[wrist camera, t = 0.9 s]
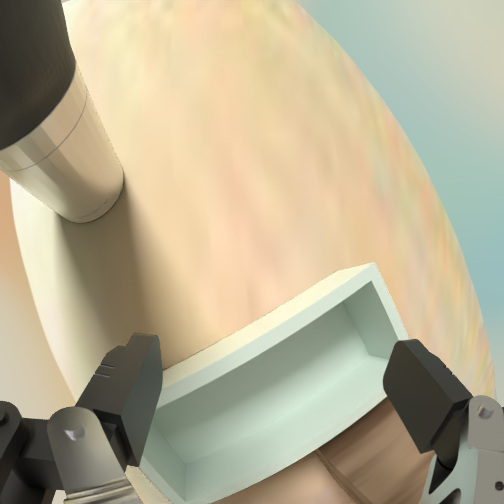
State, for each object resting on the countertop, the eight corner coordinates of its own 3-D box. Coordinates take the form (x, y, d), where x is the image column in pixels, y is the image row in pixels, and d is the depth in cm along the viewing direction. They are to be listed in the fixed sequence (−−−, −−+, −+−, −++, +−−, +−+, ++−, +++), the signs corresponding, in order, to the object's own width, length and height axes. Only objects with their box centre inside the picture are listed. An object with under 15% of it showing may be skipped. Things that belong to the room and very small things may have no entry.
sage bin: (121, 390, 26) (100, 417, 18) (335, 271, 33) (374, 261, 25) (183, 472, 25) (182, 513, 18) (377, 355, 32) (419, 365, 24)
